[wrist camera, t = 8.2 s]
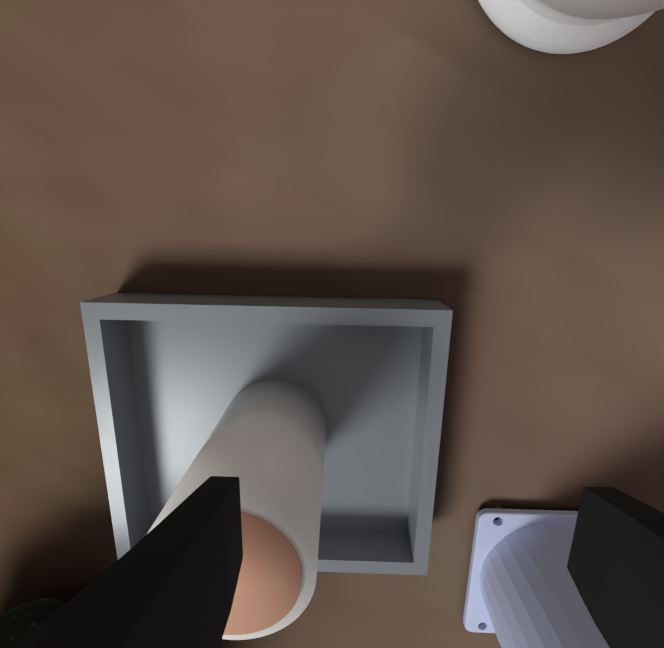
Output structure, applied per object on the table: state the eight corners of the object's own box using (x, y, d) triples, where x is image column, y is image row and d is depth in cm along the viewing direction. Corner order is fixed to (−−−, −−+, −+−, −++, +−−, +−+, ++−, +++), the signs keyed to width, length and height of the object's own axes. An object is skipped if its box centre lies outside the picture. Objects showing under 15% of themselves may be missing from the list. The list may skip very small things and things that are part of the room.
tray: (436, 299, 17) (452, 310, 15) (416, 534, 20) (427, 575, 18) (116, 292, 17) (79, 302, 15) (144, 525, 20) (118, 564, 18)
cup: (327, 381, 18) (318, 504, 10) (325, 473, 19) (314, 649, 11) (223, 377, 18) (128, 496, 10) (227, 469, 19) (145, 641, 11)
